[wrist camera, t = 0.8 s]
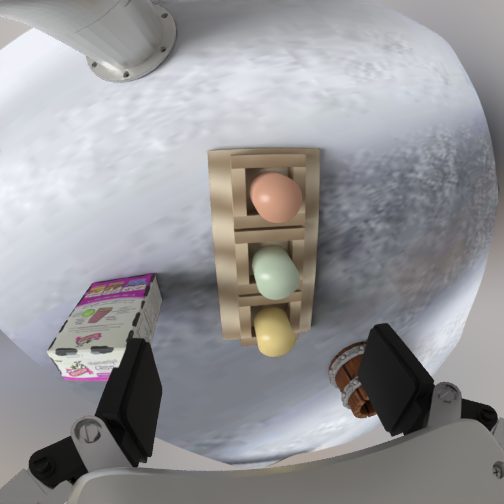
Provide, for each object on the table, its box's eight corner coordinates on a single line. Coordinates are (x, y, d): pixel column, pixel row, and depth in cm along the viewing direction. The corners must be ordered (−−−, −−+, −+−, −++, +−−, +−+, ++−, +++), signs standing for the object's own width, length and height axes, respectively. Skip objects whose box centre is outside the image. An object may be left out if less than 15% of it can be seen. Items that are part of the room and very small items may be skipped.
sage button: (251, 246, 34) (256, 262, 29) (289, 243, 34) (300, 259, 30) (252, 281, 36) (257, 301, 31) (288, 278, 36) (298, 297, 31)
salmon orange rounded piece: (248, 171, 30) (253, 176, 26) (290, 170, 31) (302, 175, 26) (250, 212, 32) (255, 224, 28) (290, 210, 33) (301, 221, 28)
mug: (354, 329, 46) (399, 390, 33) (386, 345, 52) (424, 393, 39) (311, 372, 48) (344, 434, 36) (350, 380, 55) (381, 429, 42)
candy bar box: (102, 309, 39) (64, 381, 24) (91, 282, 37) (43, 350, 22) (165, 301, 40) (143, 382, 24) (156, 271, 38) (124, 347, 23)
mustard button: (253, 308, 37) (258, 330, 32) (287, 304, 38) (296, 326, 33) (254, 335, 39) (258, 358, 34) (286, 331, 39) (294, 354, 35)
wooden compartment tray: (208, 150, 32) (206, 151, 29) (316, 148, 34) (327, 149, 30) (223, 335, 43) (224, 350, 39) (308, 326, 44) (314, 340, 41)
